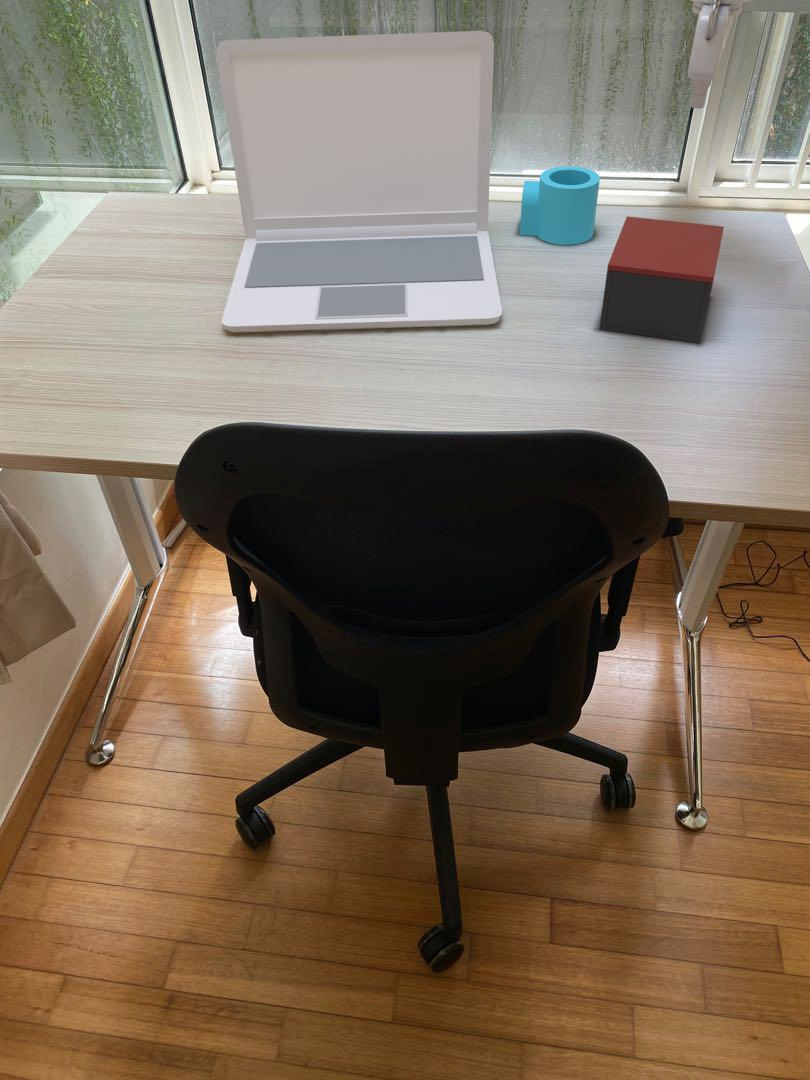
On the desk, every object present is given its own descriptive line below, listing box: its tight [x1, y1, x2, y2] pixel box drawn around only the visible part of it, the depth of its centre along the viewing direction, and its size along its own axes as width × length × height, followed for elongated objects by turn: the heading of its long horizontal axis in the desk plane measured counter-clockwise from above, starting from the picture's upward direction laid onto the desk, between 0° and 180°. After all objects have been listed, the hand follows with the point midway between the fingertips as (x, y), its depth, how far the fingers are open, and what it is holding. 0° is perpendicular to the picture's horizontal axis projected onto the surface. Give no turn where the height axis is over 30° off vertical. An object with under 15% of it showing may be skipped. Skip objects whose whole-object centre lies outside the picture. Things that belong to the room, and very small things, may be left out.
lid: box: [606, 215, 725, 284], centre depth 120 cm, size 16×14×1 cm
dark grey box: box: [598, 269, 714, 344], centre depth 122 cm, size 14×14×9 cm
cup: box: [519, 165, 601, 246], centre depth 143 cm, size 12×10×9 cm
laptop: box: [215, 30, 503, 334], centre depth 124 cm, size 40×31×31 cm
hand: (700, 96), depth 123 cm, fingers open, 8 cm apart
